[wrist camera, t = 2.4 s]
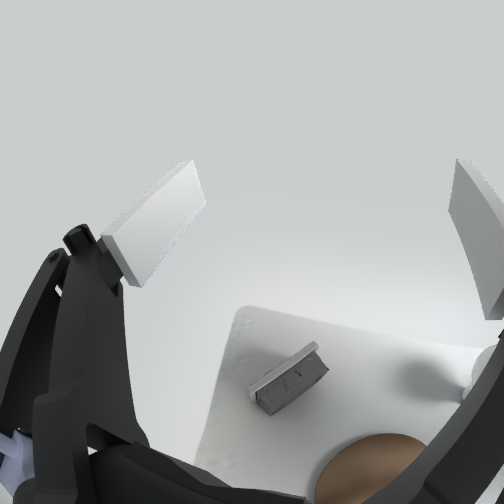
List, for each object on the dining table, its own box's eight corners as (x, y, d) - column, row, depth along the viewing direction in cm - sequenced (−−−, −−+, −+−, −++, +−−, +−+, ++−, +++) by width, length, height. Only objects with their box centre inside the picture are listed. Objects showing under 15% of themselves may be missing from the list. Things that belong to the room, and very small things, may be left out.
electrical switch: (304, 361, 37) (305, 329, 30) (328, 386, 33) (336, 359, 27) (249, 400, 34) (235, 377, 27) (271, 428, 30) (264, 413, 24)
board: (448, 507, 14) (451, 507, 13) (327, 557, 14) (328, 559, 13) (415, 416, 26) (418, 414, 25) (303, 458, 26) (302, 457, 25)
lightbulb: (457, 372, 28) (490, 327, 21) (489, 384, 24) (528, 342, 18) (443, 410, 25) (481, 374, 18) (478, 423, 21) (522, 389, 14)
